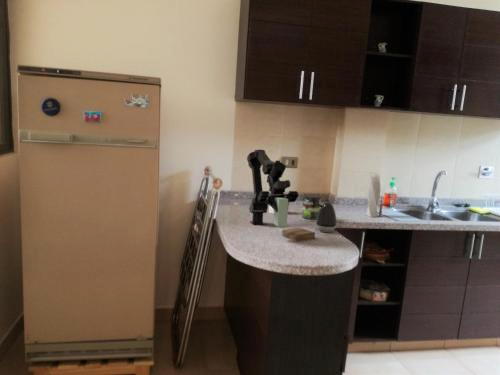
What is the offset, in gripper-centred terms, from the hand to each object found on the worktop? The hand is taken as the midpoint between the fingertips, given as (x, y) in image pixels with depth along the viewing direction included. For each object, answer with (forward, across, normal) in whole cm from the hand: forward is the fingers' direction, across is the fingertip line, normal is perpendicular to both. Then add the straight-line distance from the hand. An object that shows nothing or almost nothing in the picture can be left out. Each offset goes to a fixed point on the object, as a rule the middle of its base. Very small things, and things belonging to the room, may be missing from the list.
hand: (282, 211), depth 177 cm
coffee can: (-18, +35, +38) cm, 55 cm away
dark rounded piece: (+1, +30, +18) cm, 35 cm away
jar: (-33, +21, +52) cm, 65 cm away
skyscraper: (-21, +80, +41) cm, 92 cm away
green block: (+4, 0, +6) cm, 7 cm away
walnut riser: (+7, +10, +12) cm, 18 cm away
